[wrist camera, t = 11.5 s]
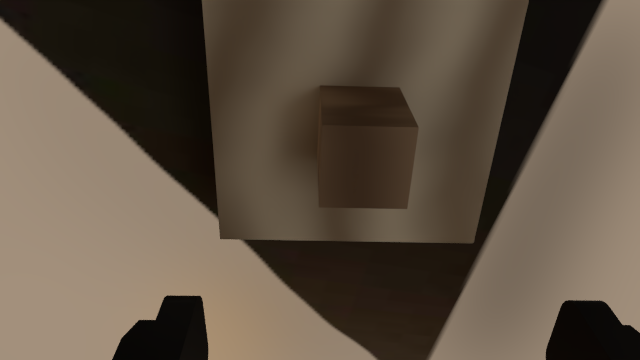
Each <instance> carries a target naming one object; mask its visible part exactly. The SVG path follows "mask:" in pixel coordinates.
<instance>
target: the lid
mask: <svg viewBox="0 0 640 360" xmlns="http://www.w3.org/2000/svg"><path fill="white" fill-rule="evenodd" d="M528 2H529V0H202V8H203V21H204V34H205V47H206V60H207V73H208V86H209V99H210V112H211V125H212V138H213V151H214V164H215V177H216V190H217V203H218V216H219V229H220V239H250V240H311V241H371V242H432V243H474V238H475V234H476V230H477V225H478V221H479V216H480V212H481V208H482V203H483V199H484V195H485V190H486V186H487V181H488V177H489V173H490V168H491V164H492V160H493V155H494V151H495V146H496V142H497V138H498V133H499V129H500V125H501V120H502V116H503V111H504V107H505V103H506V98H507V94H508V89H509V85H510V81H511V76H512V72H513V68H514V63H515V59H516V54H517V50H518V46H519V41H520V37H521V33H522V28H523V24H524V19H525V15H526V11H527V6H528Z"/></svg>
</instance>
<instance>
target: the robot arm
mask: <svg viewBox="0 0 640 360" xmlns="http://www.w3.org/2000/svg"><path fill="white" fill-rule="evenodd" d="M112 360H208V341H207V332H206V324H205V316H204V309H203V301H202V298H201V296H166V297H165V298H164V300H163V302H162V305H161V307H160V310H159V313H158V316H157V318H156V320H139V321H138V322H137V323H136V324H135V325H134V326H133V327H132V328H131V329H130V330H129V331H128V332H127V333H126V334H125V335H124V336H123V337H122V339H121V341H120V343H119V345H118V348H117V350H116V352H115V354H114V357H113V359H112ZM546 360H640V333H639V332H638V331H637V330H635V329H634V328H633V327H631V326H630V325H622V324H621V322H620V321H619V320H618V318H617V317H616V315H615V314H614V313H613V311H612V310H611V308H610V307H609V306H608V305H607V304H606V303H605V302H603V301H573V300H568V301H565V302H564V303H563V304H562V306H561V308H560V311H559V314H558V317H557V320H556V323H555V326H554V328H553V331H552V334H551V337H550V340H549V343H548V346H547V349H546Z"/></svg>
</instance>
